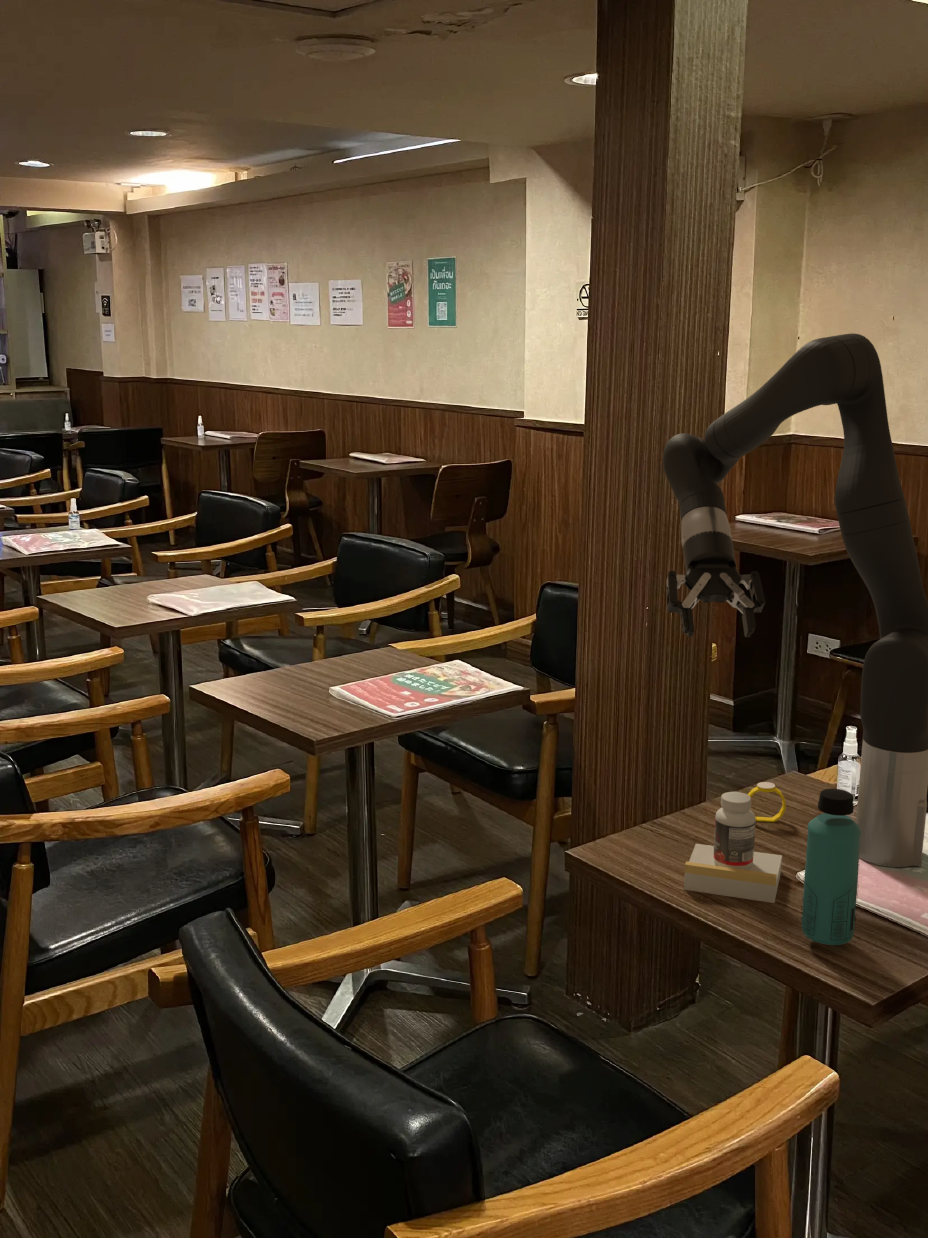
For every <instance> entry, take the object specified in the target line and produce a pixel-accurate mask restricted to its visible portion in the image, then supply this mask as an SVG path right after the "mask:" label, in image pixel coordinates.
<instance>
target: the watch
mask: <svg viewBox="0 0 928 1238" xmlns="http://www.w3.org/2000/svg"><path fill="white" fill-rule="evenodd" d="M759 792H762V793H776V794H777V795H778V796H779V797H780V798H781V808H780V809H779V812H778V813H776V814H775V815H774V816H772V817H771V816H770V817H767V816H756V815H755V818H756V822H757V823H758V822H760V823H763V822H767V823H776V822H777V821H779V820H781V818H782V817H783V816H784V814H785V812H786V809H787V807H786V806H787V804H786V803H787V802H786V798H785V797H784V795H783V792H782V791H781V790H780V789H779V788H777V787H776V785H775V783H773V782H769V781H761V782H758V783H757V784H756V786H755V787H753V788H751V790H750V791H749V792H748V793H747V795H749V796H750V797H751V799H752V797H753V796H754V795H755V794H757V793H759ZM756 822H755V823H756Z"/></svg>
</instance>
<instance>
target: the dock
mask: <svg viewBox="0 0 928 1238" xmlns="http://www.w3.org/2000/svg"><path fill="white" fill-rule="evenodd" d="M713 857H714V845H709V844H701V843H695V845H694V848H693V850H692V852H691V855H690V858H689V860H687V861H685V863H684V878H683V879H684V880H683V890H684V891H685V890H686V891H690V892H691V891H692V892H698V893H705V894H712V895H718V896H724V897H729V898H730V897H731V898H738V899H745V900H750V901H758V902H763V903H771V904H775V902H776V899H777V893H778V887H779V883H780V879H781V875H782V874H781V873H782V864H783V863H782V862H783V861H782V860H783V855H781V854H776V853H775V854H774V853H768V852H759V851H754V856H753V864H752V866H751V867H750V868H748V869H745V870H743V869H736V868H729V867H722V866H718V865H717V864H716V863H715V862H714V859H713Z"/></svg>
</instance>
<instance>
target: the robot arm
mask: <svg viewBox="0 0 928 1238" xmlns="http://www.w3.org/2000/svg"><path fill="white" fill-rule="evenodd" d="M881 365H882V364H881V360H880V357H879V354H878V352H877V349H876V348H875V346H874V344H873V343H872V342H871V341H870V339H868V338H867V337H866V336H865V335H863V334H860V333H854V332H851V333H844V334H838V335H837V334H836V335H832V336H827V337H820V338H816V339H813V340H810V341H808V342H807V343H805V344H803V345H802V346H801V347H800V348H799V349H798V350H796V352H795V353H794V354H793V355H792V356H790V357H789V358H788V360H787V361H786V362H785V363H784V364H783V365H782V366H781V367H780V369H778V371H776V372H775V374H773V375H772V376H771V377H770V378H769V379H768V380H767V381H766V382H765V383H764V384H762V385H761V386H760V387H759V388H758V389H757V390H756V391H754V393H752V394H751V395H750V396H748V397H747V398H745V399H744V400H743V401H741V402H740V403H739V404H737V405H736V406H734V407H732V408H731V409H729V410H728V411H726V412H724V414H722V415H721V416H719V417H718V418H716V419H715V420H713V421H712V422H711V423H710V424H709V425H708V427H707V428H706V430H705V433H704V438H701V437H699V436H696V435H693V434H690V433H684V432H683V433H678V434H675V435H674V436H672V437H671V438H670V439H669V440H668V441H667V442H666V444H665V446H664V450H663V452H662V453H663V454H662V455H663V456H662V464H663V465H662V466H663V471H664V473H665V476H666V478H667V481H668V483H669V485H670V488H671V490H672V492H673V494H674V496H675V498H676V500H677V502H678V505H679V513H680V522H681V523H680V524H681V528H680V529H681V530H680V531H681V532H680V533H681V547H682V551H683V558H684V566H685V567H684V568H685V574H677V573H676V571H674V570H670V571H668V573H667V577H666V580H665V591H666V593H665V594H666V610H667V612H668V613H670V614H672V613H677V614H678V615H679V617H680V622H681V623H680V624H681V630H682V632H683V634H686V636H687V637H688V638H692V637H693V636H694V633H695V624H694V616H693V609H694V607H696V605H697V604H698V602H699V601H700V602H701V601H702V602H703V603H705V604H706V603H707V604H708V603H714V602H715V603H722V604H723V603H725V602H727V603H728V604H729V605H730V606H731V607H732V608H735V609H736V610H738V611H739V612H740V613H741V614H742V615H741V620H742V625H743V626H742V627H743V634H744V638H750V637H751V636H752V634H754V632H755V630H756V628H757V623H756V618H755V617H756V616H755V613H757V614H759V613H762V611H763V609H764V605H766V602H767V601H766V597H765V593H764V589H763V584H762V580H761V575H760V572H759V571H757V570H752V571H751V572H750V574H740V573H739V571H738V569H737V562H736V557H735V555H736V554H735V549H734V548H735V547H734V543H733V536H732V530H731V526H730V522H729V520H728V514H727V509H726V501H725V496H724V492H723V490H722V488H721V487H720V486H719V485H718V484H719V483H720V482H722V481H723V480H724V479H725V478H726V477H727V475H728V474H729V472H730V471H731V470H732V469H733V467H734V466H735V465H736V464H737V463H738V461H739V460H740V459H741V458H742V457H744V456H745V455H747V454H748V453H750V452H752V451H754V450H755V449H757V448H758V447H760V446H761V445H762V444H764V443H765V442H767V440H769V439H770V438H771V437H772V436H773V435H774V434H775V432H776V431H777V430H778V428H779V426H780V425H781V424H782V423H783V422H784V421H786V420H787V419H789V418H791V417H792V416H795V415H797V414H800V413H801V412H805V411H806V410H810V409H813V408H815V407H816V408H817V407H818V406H831V405H836V404H837V407H838V411H839V414H840V419H841V425H842V429H843V452H842V457H841V462H840V465H839V466H840V467H839V470H838V474H837V479H836V485H835V489H834V506H835V512H836V516H837V521H838V525H839V528H840V529H839V530H840V533H841V538H842V541H843V544H844V547H845V550H846V552H847V555H848V557H849V558H850V560H851V563H852V564H853V566H854V568H855V569H856V571H857V574H858V575H859V576H860V578H861V579H862V582H864V584H865V586H866V588H867V589H868V592H869V594H870V596H871V599H872V603H873V604H874V605H873V606H874V609H875V614H876V620H877V624H878V626H877V627H878V631H879V639H878V640H877V641H876V642H874V643H873V644H872V645H871V646H870V647H869V649H868V651H867V652H866V654H865V656H864V660H863V665H862V670H861V671H862V672H861V686H860V687H861V688H860V690H861V691H860V709H859V711H860V713H859V714H860V715H859V716H860V722H861V724H862V728H863V732H862V745H861V746H862V747H861V756H860V757H861V759H860V769H859V771H860V772H859V781H858V795H857V804H856V805H857V806H856V815H855V817H856V818H855V823H856V824H857V825H858V826H859V827H860V829H861V836H860V849H859V859H860V858H861V859H862V860H864V859H865V860H864V861H866V862H868V861H869V862H868V863H871V862H872V863H871V864H874V863H875V864H874V865H878V866H883V867H891V868H905V867H913V866H914V867H921V866H922V860H923V851H924V839H925V831H926V830H925V829H926V820H927V819H926V818H927V810H928V809H927V808H928V802H927V799H928V798H927V795H928V599H927V596H926V593H925V589H924V584H923V579H922V575H921V567H920V564H919V563H920V562H919V558H918V555H917V548H916V545H915V541H914V535H913V530H912V526H911V525H912V523H911V520H910V514H909V511H908V505H907V501H906V498H905V493H904V491H903V487H902V483H901V479H900V475H899V474H900V473H899V471H898V466H897V462H896V461H897V460H896V454H895V451H894V446H893V445H894V444H893V441H892V435H891V432H890V425H889V419H888V418H889V417H888V410H887V409H888V408H887V403H886V393H885V388H884V387H885V385H884V377H883V376H884V375H883V371H882V366H881ZM683 584H684V586H685V587H686V588H687V589H689V593H688V595H687V596H686V597H685V599H684V600H683V601H681V600H679V599H678V598H679V597H678V589H680V588H681V586H682V585H683ZM740 584H743V585H744V587H745V588H746V590H747V591H748V590H749V595H750V598H751V599H750V598H749V597H748V596H747V595H746V594H745V591H744V590H743V589H742V588H741V587H740Z"/></svg>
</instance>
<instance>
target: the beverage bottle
mask: <svg viewBox="0 0 928 1238" xmlns="http://www.w3.org/2000/svg"><path fill="white" fill-rule="evenodd" d="M854 808H855V807H854V796H853V794H852V793H851V792H849V791H847V790H845V789H840V788H826V789H822V790H821V791H820V793H819V798H818V802H817V809H818V810H819V811H821V812H822V813H820V814H818V815H817V816H816V817H814V818H812V819H811V820H810V821H808V823H807V839H806V853H805V854H806V857H805V863H804V865H805V866H804V874H803V879H802V882H803V885H802V891H803V894H802V897H801V898H802V899H801V906H800V907H801V908H802V911H801V917H800V927H801V930H802V933H803V935H804V936H805V937H806V938H808V939H810V940H811V941H813V942H816V943H819V944H821V945H830V946H840V945H844V944H848V943H850V942H851V941H852V939H853V937H854V936H855V931H856V929H855V925H856V924H857V913H856V911H857V902H858V898H859V897H858V894H859V890H858V889H859V884H860V881H859V870H860V869H859V867H860V857H859V849H860V836H861V829H860V827H859V826H858V825H857V824H856V821H854V820H853V819H852V818H851V817H849V815H851V814H853V813H854Z"/></svg>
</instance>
